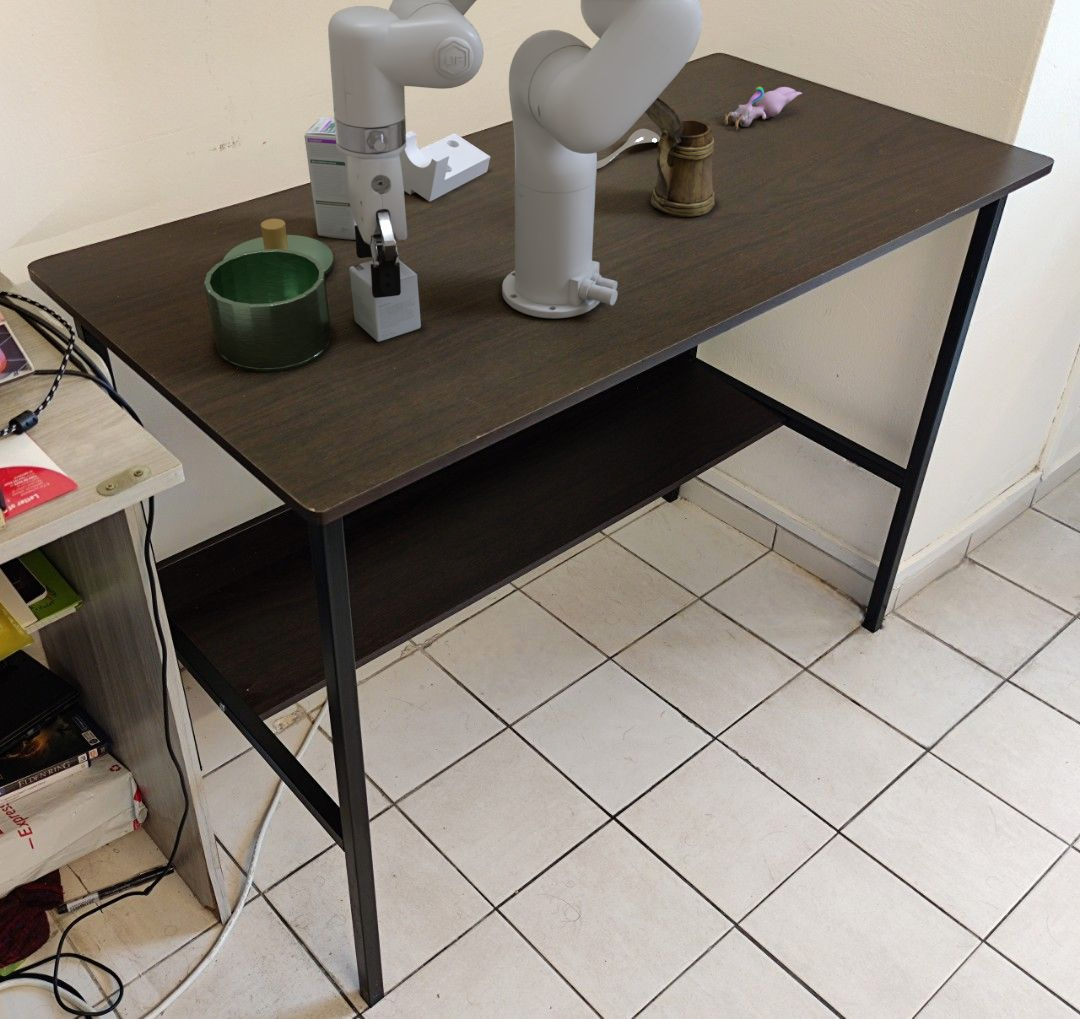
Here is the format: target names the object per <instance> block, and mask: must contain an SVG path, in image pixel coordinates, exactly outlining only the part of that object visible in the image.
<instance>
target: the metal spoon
mask: <svg viewBox="0 0 1080 1019" xmlns="http://www.w3.org/2000/svg"><path fill="white" fill-rule="evenodd" d="M660 137H661V135H659V134H658V133H657V132H655V131H654V130H651V129H649V128H639V129H636V130H635V131H634V132H632V133H631V134H630V136H629V138H628V139H627V140H626V142H625V143H623V145H621V146H620V147H619V148H618V149H617V150H615V151H614V152H612V153H610V154H609V155H608V156H606V157H604V158H601V159H597V170H599V169H601V168H603V167H605V166H606V165H608V164H609V163H611V161H612V160H614V159H615V158H616V157H618V156H619V155H620V154H622V153H623V152H624V151H626V150H627V149H629V148H631V147H634V146H638V145H644V144H651V143H654V144H657V145H658V144H659V140H660Z"/></svg>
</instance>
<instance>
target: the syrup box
mask: <svg viewBox="0 0 1080 1019" xmlns="http://www.w3.org/2000/svg"><path fill="white" fill-rule="evenodd" d="M303 135H304V142H305V151H306V157H307V165H308V166H307V167H308V173H309V180H310V190H311V196H312V202H313V203H312V204H313V211H314V218H315V227H316V233H317V235H318V236H320V237H327V238H332V239H333V238H334V239H341V240H343V239H344V240H355V225H357V224H356V222H355V219H354V216H353V213H352V209H351V203H350V195H349V185H348V170H347V155H346V154H344V153H342V152H340V151H339V150H338V149H337V147H336V135H335V121H334V116H319V118H318V119H317V121H316V122H315V123H314V124H313V125H312V126H310V128H309V129H308V130H307V131H306V132H305V133H304V134H303ZM355 241H356V240H355Z"/></svg>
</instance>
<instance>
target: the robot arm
mask: <svg viewBox="0 0 1080 1019" xmlns="http://www.w3.org/2000/svg"><path fill="white" fill-rule="evenodd" d="M476 2H477V0H392V1H391V3H390V5H389V8H388V9H387V8H383V7H379V6H374V5H355V6H348V7H345V8H343V9H339V10H338V11H336V12H335V13H334V14H332V16H331V17H330V20H329V21H328V27H327V34H328V49H329V62H330V63H329V64H330V76H331V89H332V90H331V91H332V105H333V117H334V121H335V135H336V147H337V149H338V150H339V151H340V152H342V153H344V154H346V155H347V170H348V185H349V195H350V203H351V209H352V213H353V216H354V219H355V222H356V224H357V225H355V253H356V256H357V258H359V259H366V258H372V259H371V260H373V264H370V265H371V283H372V295H373V297H374V298H381V297H390V296H398V295H400V294H401V282H400V263H399V260H400V258H399V252H398V246H397V241H401V242H406V240H407V239H408V226H407V214H406V212H407V211H406V200H405V191H404V186H403V176H402V168H401V162H400V156H399V153H400V152H402V151H403V150H404V149H405V148H406V133H407V124H406V122H407V120H406V99H405V96H406V95H405V94H406V92H405V87H413V88H425V89H426V88H427V89H436V90H437V89H439V90H441V89H443V90H444V89H453V88H454V89H455V88H458V87H461V86H463V85H465V84H467V83H469V82H470V81H471V80H473V79H474V77H475V76H476V75H477V74H478V72H479V70H480V69H481V67H482V65H483V60H484V54H485V53H484V44H483V41H482V38H481V36H480V32H478V30H477V29H476V27H475V26H474V25H473V24H472V22H470V20H469V19H467V17H465V15H466V13H467V12H468V11H469V10H470V9H471V7H472V6H473V5H474V4H475V3H476ZM580 12H581V16H582V18H583V20H584V22H585V24H586V26H587V28H588V29H589V30H590V31H591V33H593V35H595V36H596V37H597V38H598V40H597V42H595V44H594V45H593V46H592V47H591V46H589V45H588V44H587V43H585V42H584V41H583V40H582V39H580V38H579V37H577V36H575V35H573V34H572V33H569V32H567V31H563V30H560V29H546V30H541V31H538V32H535V33H533V34H532V35H530V36H528V37H527V38H526V39H524V40H523V42H522V43H521V44H520V45H519V47H518V48H517V49H516V51H515V52H514V55H513V57H512V59H511V64H510V66H509V71H508V72H509V73H508V95H509V103H510V111H511V119H512V128H513V140H514V270H513V271H511V272H510V273H508V274H507V275H506V276H505V278H504V279H503V281H502V284H501V294H502V298H503V300H504V301H505V302H506V304H507V305H509V306H510V307H511V308H512V309H514V310H515V311H517V312H520V313H521V314H525V315H527V316H532V317H535V318H542V319H566V318H572V317H577V316H580V315H583V314H585V313H587V312H590V311H592V310H593V309H595V308H596V307H597V306H598V305H599V304H600V303H602V304H605V305H608V306H614V305H615V304H616V302H617V300H618V295H619V294H618V290H617V289H618V284H619V283H618V281H617V280H613V279H611V278H605V277H602V275H601V274H600V265H601V264H600V261H599V262H598V261H596V260H593V245H594V244H593V242H594V225H595V224H594V223H595V207H596V206H595V204H596V182H597V171H598V169H597V161H598V153H600V152H602V151H604V150H607V149H608V148H609V147H611V146H613V145H614V144H616V142H617V141H619V140H620V139H622V138H623V137H624V135H625V134H627V133H628V132H629V131H630V130H631V128H632V127H633V126H634V125H635V124H636V123H637V122H638V121H639V120H640V118H641V117H642V116H643V115H644V113H645V111H646V110H647V109H648V108H649V107H650V105H651V104H652V103H653V102H654V101H655V100H656V99H657V98H659V97H660V95H661V94H662V93H663V92H664V91H665V90H666V88H668V86H669V85H670V84H671V83H672V82H673V80H675V78H676V77H677V76H678V74H679V73H680V72H681V70H682V69H684V67H685V66H686V64H687V63H688V62H689V60H690V59H691V57H692V55H693V54H694V52H695V50H696V48H697V45H698V43H699V40H700V37H701V34H702V29H703V22H704V21H703V20H704V18H703V17H704V16H703V8H702V4H701V2H700V0H580Z"/></svg>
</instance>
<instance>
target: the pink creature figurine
mask: <svg viewBox="0 0 1080 1019" xmlns="http://www.w3.org/2000/svg"><path fill="white" fill-rule="evenodd" d="M754 90H756V91H755V92H754V94H753V95H752V96H751V97H750V99H749V100H748V102H747V103H745V104H738V105H737V108H736V109H735V110H734V111H729V113H727V114H725V117H724V121H723V123H725V124H724V126H726V125H728V124H729V122H728V119H729V117H730V118H731V121H732V122H733V123H734V126H733V127H734V128H736V129H735V131H737V130H738V129H739V125H740V126H741V127H742V128H747V127H749V126H750V125H751V124H752V122H753V120H756V119H758V118H760V117H762V120H766V119H770V118H774V117H777V116H778V115H779V114H780V113H781V112H782V110H783V108H784V107H785V106H786V105H787V104H789V103H790V102H792V101H793V100H795V99H796V98H797V97H798V96H801V95H803V93H802V92H801V91H796V89H794V88H792V87H788V86H781V87H777V88H776V89H774V90H769V91H766V92H765V90H764V88H763V87H762V86H757V87H756V88H755V89H754ZM754 103H755V106H753V104H754Z"/></svg>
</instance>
